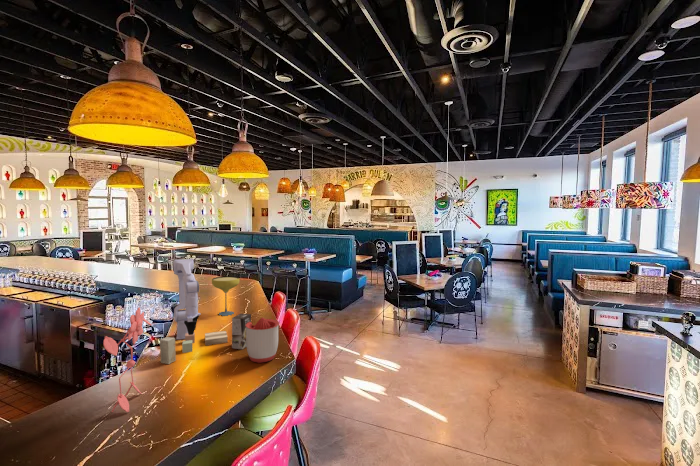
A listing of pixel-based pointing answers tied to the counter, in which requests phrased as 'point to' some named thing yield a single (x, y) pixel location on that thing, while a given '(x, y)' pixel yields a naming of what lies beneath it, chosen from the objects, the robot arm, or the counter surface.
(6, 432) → the counter surface
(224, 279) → the cocktail glass
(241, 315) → the coffee box
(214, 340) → the maple board
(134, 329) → the pink thin branching piece
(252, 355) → the citrus juicer
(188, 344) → the sage cube
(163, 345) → the box
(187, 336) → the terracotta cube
